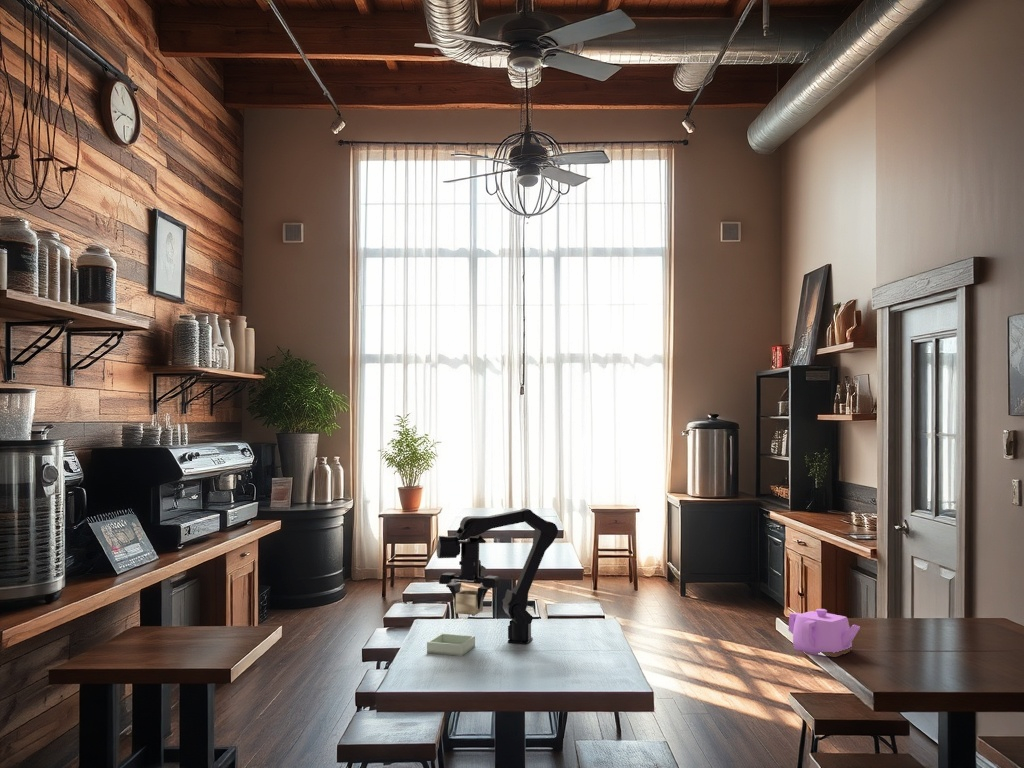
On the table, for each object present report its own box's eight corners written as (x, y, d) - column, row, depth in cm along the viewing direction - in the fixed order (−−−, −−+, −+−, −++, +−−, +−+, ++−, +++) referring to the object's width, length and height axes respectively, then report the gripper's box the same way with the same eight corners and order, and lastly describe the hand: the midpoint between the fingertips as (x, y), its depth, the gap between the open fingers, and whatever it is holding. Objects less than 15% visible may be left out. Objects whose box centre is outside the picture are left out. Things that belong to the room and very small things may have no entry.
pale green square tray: (475, 646, 252) (475, 635, 252) (461, 656, 241) (461, 645, 242) (441, 643, 255) (441, 633, 256) (426, 652, 245) (427, 642, 245)
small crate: (482, 610, 256) (482, 591, 257) (474, 615, 250) (475, 595, 251) (463, 609, 258) (463, 589, 259) (455, 613, 252) (455, 593, 253)
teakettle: (786, 643, 255) (785, 603, 256) (841, 643, 254) (840, 603, 255) (803, 658, 238) (802, 615, 239) (862, 659, 237) (861, 616, 238)
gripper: (506, 555, 260) (505, 605, 259) (452, 552, 266) (451, 600, 265) (494, 560, 249) (493, 612, 248) (438, 556, 255) (437, 607, 255)
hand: (469, 608), depth 254 cm, fingers closed on small crate, 6 cm apart
